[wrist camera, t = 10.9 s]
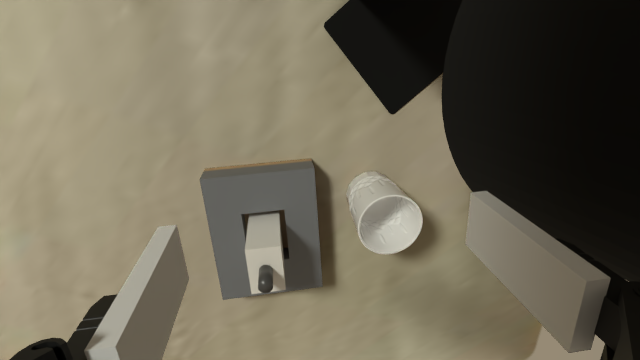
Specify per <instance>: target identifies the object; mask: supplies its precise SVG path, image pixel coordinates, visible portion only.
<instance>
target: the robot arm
mask: <svg viewBox="0 0 640 360" xmlns="http://www.w3.org/2000/svg"><path fill="white" fill-rule="evenodd" d="M466 245H467V246H468V248H469V249H470V250H471V251H472V252H473V253H474V254H475V255H476V256H477V257H478V258H479V259H480V260H481V261H482V262H483V263H484V264H485V265H486V266H487V268H488V269H489V270H490V271H491V272H492V273H493V274H494V275H495V276H496V277H497V278H498V279H499V280H500V281H501V282H502V283H503V284H504V285H505V286H506V288H507V289H508V290H509V291H510V292H511V293H512V294H513V295H514V296H515V297H516V298H517V299H518V300H519V301H520V302H521V303H522V304H523V305H524V306H525V308H526V309H527V310H528V311H529V312H530V313H531V314H532V315H533V316H534V317H535V318H536V319H537V320H538V321H539V322H540V323H541V324H542V325H543V326H544V328H545V329H546V330H547V331H548V332H549V333H550V334H551V335H552V336H553V337H554V338H555V339H556V340H557V341H558V342H559V343H560V344H561V345H562V346H563V348H565V350H567V352H568V353H572V352H578V351H584V350H591V347H592V343H593V340H594V336H595V334H596V335H597V336H598V337H599V338H600V339H601V340H602V341H604V343H605V346H604V349H603V353H602V356H601V359H600V360H640V282H639V281H630V282H628V281H626V280H625V279H624V278H622V277H621V276H619V275H618V274H616V273H615V272H613V271H612V270H610V269H609V268H607V267H606V266H604V265H603V264H601V263H600V262H598V261H595V259H594V258H593V257H591V256H590V255H588V254H585V252H584V251H582V250H581V249H579V248H578V247H576V246H575V245H573V244H571V243H569V242H566V241H564V240H561V239H559V238H556V239H555V238H553V237H552V236H550V235H549V234H547V233H546V232H545V231H543V230H542V229H540V228H539V227H537V226H536V225H535V224H533V223H532V222H530V221H529V220H527V219H526V218H525V217H523V216H522V215H520V214H519V213H517V212H516V211H515V210H513V209H512V208H510V207H509V206H508V205H506V204H505V203H503V202H502V201H500V200H499V199H498V198H496V197H495V196H493V195H492V194H490V193H489V192H488V191H480V192H471V195H470V205H469V215H468V225H467V235H466ZM188 280H189V276H188V272H187V267H186V263H185V259H184V254H183V250H182V246H181V241H180V237H179V232H178V228H177V225H170V226H161V227H158V228H157V229H156V231H155V233H154V234H153V236H152V238H151V240H150V241H149V243H148V245H147V246H146V248H145V250H144V251H143V253H142V255H141V256H140V258H139V260H138V261H137V263H136V265H135V266H134V268H133V270H132V271H131V273H130V275H129V276H128V278H127V280H126V281H125V283H124V285H123V286H122V288H121V290H120V291H119V293H118V294H117V295H109V296H104V297H102V298H101V299H100V300H99V301H98V302H96V303H95V304H94V305H93V306H92V307H91V308H90V309H89V311H88V312H87V314H86V315H85V317H84V318H83V321H81V323H80V324H79V326H78V327H77V330H76V331H75V332H74V333H73V335H72V336H71V338H70V339H69V341H68V342H67V343H66V342H65V341H64V340H63V339H61V338H50V339H45V340H41V341H38V342H36V343H33V344H31V345H29V346H27V347H26V348H24V349H22V350H21V351H19V352H18V353H17V354H15V355H14V356H13V357H12V358H11V359H10V360H162V357H163V354H164V351H165V348H166V345H167V342H168V340H169V337H170V334H171V331H172V328H173V325H174V322H175V319H176V316H177V313H178V310H179V307H180V304H181V301H182V298H183V295H184V292H185V289H186V286H187V283H188Z"/></svg>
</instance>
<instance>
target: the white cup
mask: <svg viewBox="0 0 640 360" xmlns="http://www.w3.org/2000/svg"><path fill="white" fill-rule="evenodd" d="M346 196H347V200H348V204H349V209H350V212H351V215H352V218H353V221H354V224H355V227H356V229H357V232H358V235H359V238H360V240H361V242H362V243H363V245H364V246H365V247H366V248H367V249H369V250H370V251H372V252H375V253H378V254H394V253H397V252H400V251H402V250H404V249H406V248H407V247H409V246H410V245H411V244H412V243H413V242H414V241H415V240H416V239H417V237H418V236H419V234H420V232H421V229H422V224H423V217H422V213H421V210H420V208H419V206H418V205H417V204H416V203H415V202H414V201H413V200H412V199H411V198H410V197H409V196H408V195H407V194H406V193H405V192H404V191H403V190H402V189H401V188H400V187H398V186H397V185H396V184H395V183H394V182H392V181H391V180H389V179H388V178H387V177H386V176H385V175H384V174H381V173H379V172H376V171H371V172H364V173H362V174H360V175H358V176H356V177H355V178H354V179H353V180H352V182H351V183H350V184H349V186H348V190H347V194H346Z"/></svg>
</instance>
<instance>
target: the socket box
mask: <svg viewBox="0 0 640 360" xmlns="http://www.w3.org/2000/svg"><path fill="white" fill-rule="evenodd" d="M200 184H201V189H202V194H203V199H204V204H205V209H206V215H207V220H208V225H209V230H210V235H211V240H212V245H213V251H214V256H215V261H216V266H217V271H218V276H219V282H220V287H221V292H222V297H223V300H225V299H233V298H240V297H248V296H256V295H263V294H271V293H279V292H286V291H294V290H301V289H309V288H317V287H323V285H322V271H321V257H320V242H319V228H318V214H317V199H316V185H315V170H314V166H313V163H312V160H311V159H300V160H290V161H280V162H269V163H259V164H248V165H238V166H228V167H217V168H207V169H205V170H204V172H203V174H202V176H201V178H200ZM277 210H279V214H280V223H281V232H282V241H283V254H284V270H285V287H286V290H281V291H273V292H269V293H258V294H251V288H250V281H249V275H248V268H247V262H246V255H245V244H246V236H247V227H248V219H249V213H258V212H268V211H277Z"/></svg>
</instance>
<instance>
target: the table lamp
mask: <svg viewBox="0 0 640 360" xmlns="http://www.w3.org/2000/svg"><path fill="white" fill-rule="evenodd" d="M324 27H325V29H326V31H327V32H328V33H329V34H330V36H331V37H332V38H333V40H334V41H335V42H336V44H337V45H338V46H339V48H340V49H341V50H342V51H343V53H344V54H345V55H346V57H347V58H348V59H349V61H350V62H351V63H352V65H353V66H354V67H355V68H356V70H357V71H358V72H359V74H360V75H361V76H362V78H363V79H364V80H365V81H366V83H367V84H368V85H369V87H370V88H371V89H372V91H373V92H374V93H375V95H376V96H377V97H378V98H379V100H380V101H381V102H382V104H383V105H384V106H385V108H386V109H387V110H388V112H389V113H391V114H394V113H395V112H397V111H398V110H399V109H400V108H401V107H403V106H404V105H405V104H406V103H407V102H409V101H410V100H411V99H412V98H413V97H414V96H416V95H417V94H418V93H419V92H420V91H422V90H423V89H424V88H425V87H426V86H428V85H429V84H430V83H431V82H432V81H433V80H435V79H436V78H437V77H438V76H439V75H441V74H442V73H443V81H442V113H443V121H444V128H445V133H446V137H447V141H448V145H449V148H450V151H451V154H452V157H453V159H454V162H455V164H456V166H457V168H458V170H459V172H460V174H461V176H462V178H463V179H464V181H465V182H466V184H467V185H468V186H469V188H470V189H471V190H472V191H473V192H480V191H488V192H489V193H490V194H492V195H493V196H495V197H496V198H498V199H499V200H500V201H502V202H503V203H505V204H506V205H508V206H509V207H510V208H512V209H513V210H515V211H516V212H517V213H519V214H520V215H522V216H523V217H525V218H526V219H527V220H529V221H530V222H532V223H533V224H535V225H536V226H537V227H539V228H540V229H542V230H543V231H545V232H546V233H547V234H549V235H550V236H552V237H553V238H555V239H556V238H559V239H561V240H564V241H566V242H569V243H571V244H573V245H575V246H576V247H578V248H579V249H581V250H582V251H584V252H585V254H588V255H590V256H591V257H593V258H594V259H595V261H598V262H600V263H601V264H603V265H604V266H606V267H607V268H609V269H610V270H612V271H613V272H615V273H616V274H618V275H619V276H621V277H622V278H624V279H625V280H627V281H629V282H630V281H639V282H640V0H349V1H348V2H347V3H346V4H345V5H344V6H343V7H342V8H341V9H339V10H338V11H337V12H336V13H335V14H334V15H333V16H332V17H331V18H330V19H329V20H327V21H326V22H325V24H324Z"/></svg>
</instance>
